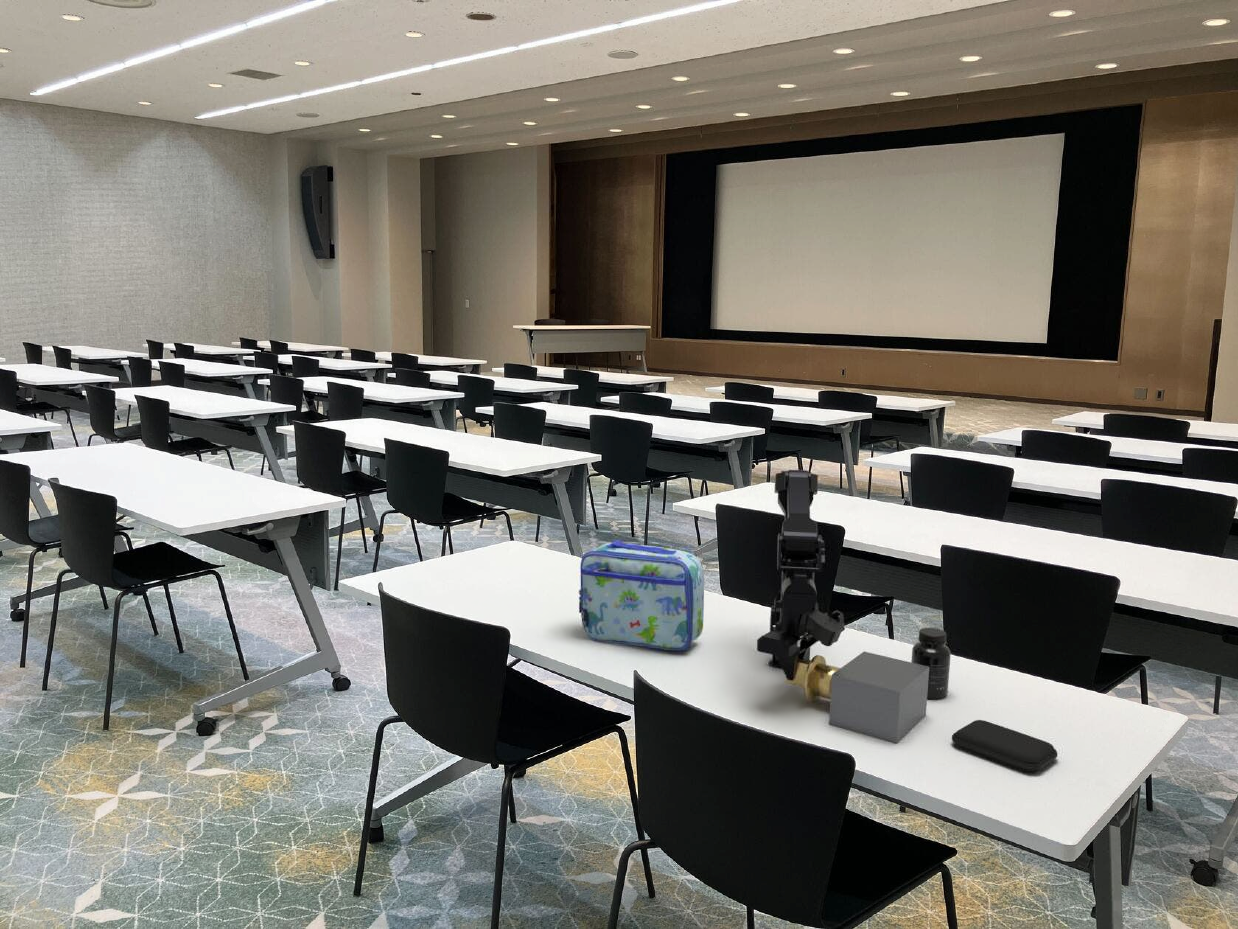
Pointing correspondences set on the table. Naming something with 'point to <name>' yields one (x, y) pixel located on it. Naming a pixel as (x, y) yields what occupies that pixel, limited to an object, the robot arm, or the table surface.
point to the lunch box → (642, 596)
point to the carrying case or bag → (1005, 746)
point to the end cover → (814, 677)
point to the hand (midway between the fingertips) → (793, 678)
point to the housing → (879, 696)
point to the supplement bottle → (933, 660)
